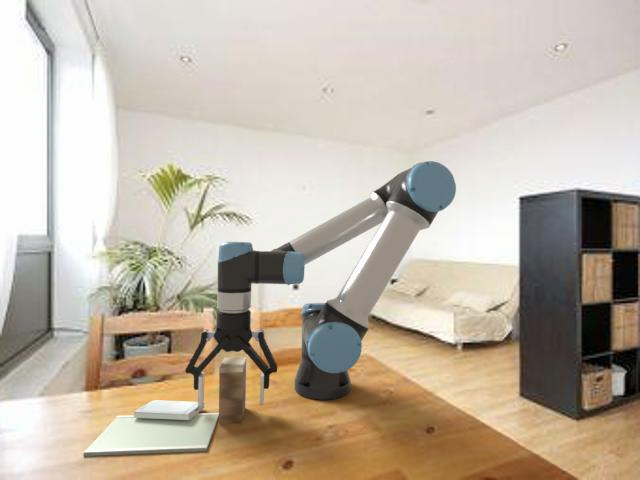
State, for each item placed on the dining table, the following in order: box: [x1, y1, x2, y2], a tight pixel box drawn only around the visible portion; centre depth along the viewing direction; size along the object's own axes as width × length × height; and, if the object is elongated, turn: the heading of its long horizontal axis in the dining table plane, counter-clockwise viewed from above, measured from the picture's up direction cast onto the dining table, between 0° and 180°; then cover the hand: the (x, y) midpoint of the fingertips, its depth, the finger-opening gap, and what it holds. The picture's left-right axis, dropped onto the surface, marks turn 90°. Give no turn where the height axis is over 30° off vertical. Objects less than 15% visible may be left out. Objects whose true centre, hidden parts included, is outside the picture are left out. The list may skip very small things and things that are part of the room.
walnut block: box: [218, 356, 247, 425], centre depth 85 cm, size 5×7×12 cm
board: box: [83, 412, 219, 457], centre depth 76 cm, size 22×14×1 cm, turn 96°
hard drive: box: [133, 399, 205, 420], centre depth 84 cm, size 2×8×12 cm
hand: (231, 403), depth 85 cm, fingers open, 13 cm apart
